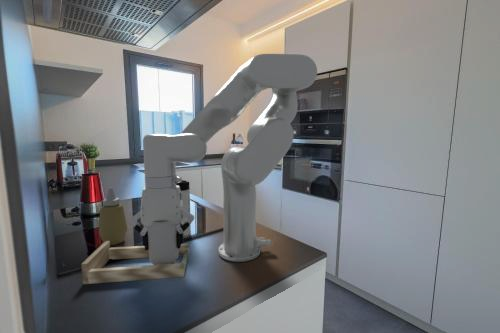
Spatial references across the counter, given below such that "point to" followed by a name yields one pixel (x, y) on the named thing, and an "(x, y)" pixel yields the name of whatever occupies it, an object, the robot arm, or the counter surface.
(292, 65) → the robot arm
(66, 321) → the counter surface
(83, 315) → the counter surface
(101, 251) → the frame
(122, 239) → the squeeze bottle
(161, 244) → the can
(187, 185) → the travel mug
